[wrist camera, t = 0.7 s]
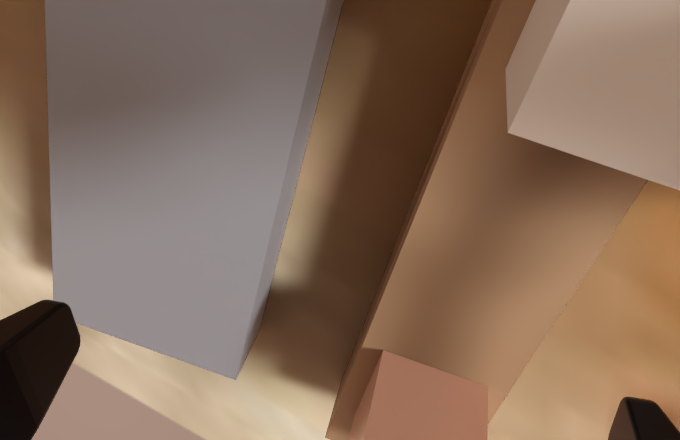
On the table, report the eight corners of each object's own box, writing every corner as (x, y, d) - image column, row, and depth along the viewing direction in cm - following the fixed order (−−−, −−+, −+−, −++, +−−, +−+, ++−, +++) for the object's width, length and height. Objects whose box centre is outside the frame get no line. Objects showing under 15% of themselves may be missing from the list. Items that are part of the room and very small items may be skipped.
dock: (392, -192, 16) (372, -194, 13) (259, 330, 27) (235, 379, 25) (106, -283, 16) (35, -303, 14) (93, 271, 28) (53, 315, 25)
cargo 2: (752, -41, 13) (837, 1, 10) (653, 118, 16) (695, 195, 12) (578, -98, 13) (604, -75, 10) (505, 69, 16) (507, 132, 12)
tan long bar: (786, -142, 15) (854, -135, 12) (454, 415, 28) (449, 481, 25) (573, -209, 15) (591, -218, 12) (342, 375, 28) (324, 437, 25)
